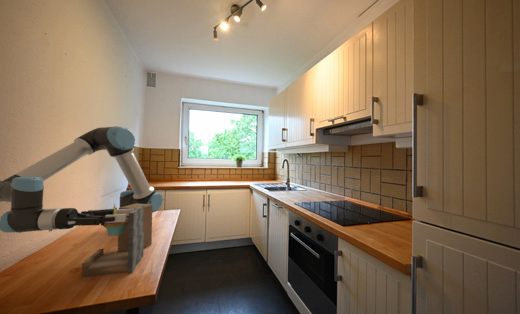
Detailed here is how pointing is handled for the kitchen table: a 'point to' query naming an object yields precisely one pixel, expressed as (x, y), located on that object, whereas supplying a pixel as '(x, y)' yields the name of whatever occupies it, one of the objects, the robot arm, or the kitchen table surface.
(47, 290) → the kitchen table surface
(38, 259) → the kitchen table surface
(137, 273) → the kitchen table surface
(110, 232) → the cupcake
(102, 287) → the kitchen table surface
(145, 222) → the wooden block
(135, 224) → the wooden bookend
